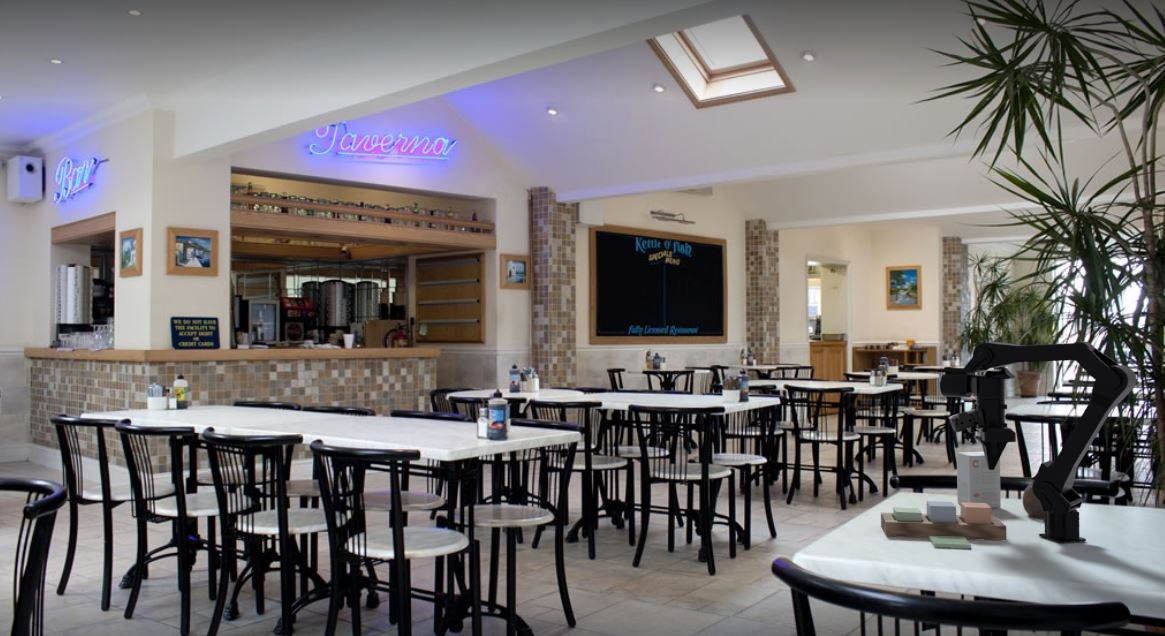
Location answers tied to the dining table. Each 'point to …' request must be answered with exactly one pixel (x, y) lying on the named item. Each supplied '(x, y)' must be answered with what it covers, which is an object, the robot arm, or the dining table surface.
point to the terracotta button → (975, 513)
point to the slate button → (941, 511)
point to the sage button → (907, 514)
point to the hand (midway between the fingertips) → (991, 469)
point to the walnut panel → (943, 528)
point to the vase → (1032, 503)
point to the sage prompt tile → (949, 541)
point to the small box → (977, 480)
